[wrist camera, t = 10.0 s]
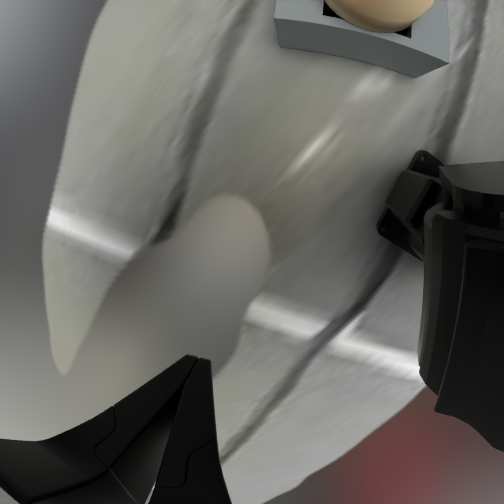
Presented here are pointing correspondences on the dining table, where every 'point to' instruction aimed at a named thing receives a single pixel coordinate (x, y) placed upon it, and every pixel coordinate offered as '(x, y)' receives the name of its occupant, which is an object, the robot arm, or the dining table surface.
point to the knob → (380, 13)
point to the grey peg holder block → (366, 37)
